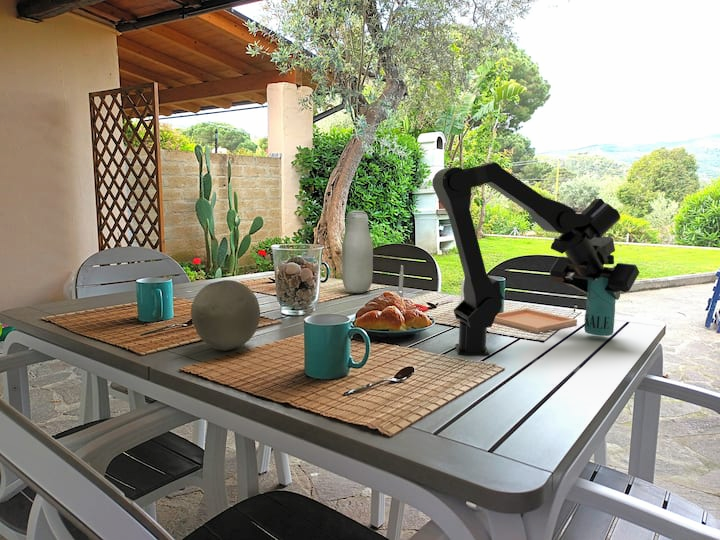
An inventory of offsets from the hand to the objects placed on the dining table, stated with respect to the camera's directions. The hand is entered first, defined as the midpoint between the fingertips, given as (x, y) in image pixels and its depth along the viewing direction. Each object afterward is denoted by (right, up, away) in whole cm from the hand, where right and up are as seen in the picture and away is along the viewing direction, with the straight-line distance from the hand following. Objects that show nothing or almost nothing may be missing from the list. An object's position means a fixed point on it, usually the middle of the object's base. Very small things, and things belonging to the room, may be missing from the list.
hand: (604, 295), depth 122 cm
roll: (-23, -5, +39) cm, 46 cm away
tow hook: (-42, -6, +30) cm, 52 cm away
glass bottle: (-58, -2, +55) cm, 80 cm away
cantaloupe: (-85, -11, -11) cm, 87 cm away
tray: (-12, -8, +15) cm, 21 cm away
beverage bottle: (-1, -10, +1) cm, 10 cm away
